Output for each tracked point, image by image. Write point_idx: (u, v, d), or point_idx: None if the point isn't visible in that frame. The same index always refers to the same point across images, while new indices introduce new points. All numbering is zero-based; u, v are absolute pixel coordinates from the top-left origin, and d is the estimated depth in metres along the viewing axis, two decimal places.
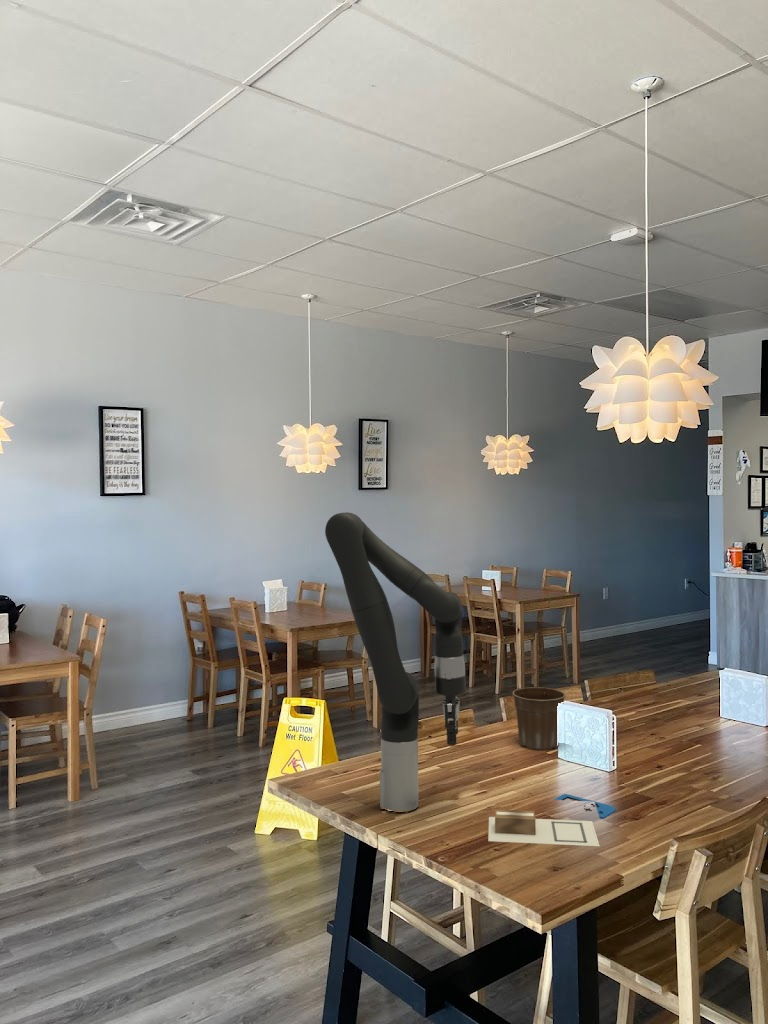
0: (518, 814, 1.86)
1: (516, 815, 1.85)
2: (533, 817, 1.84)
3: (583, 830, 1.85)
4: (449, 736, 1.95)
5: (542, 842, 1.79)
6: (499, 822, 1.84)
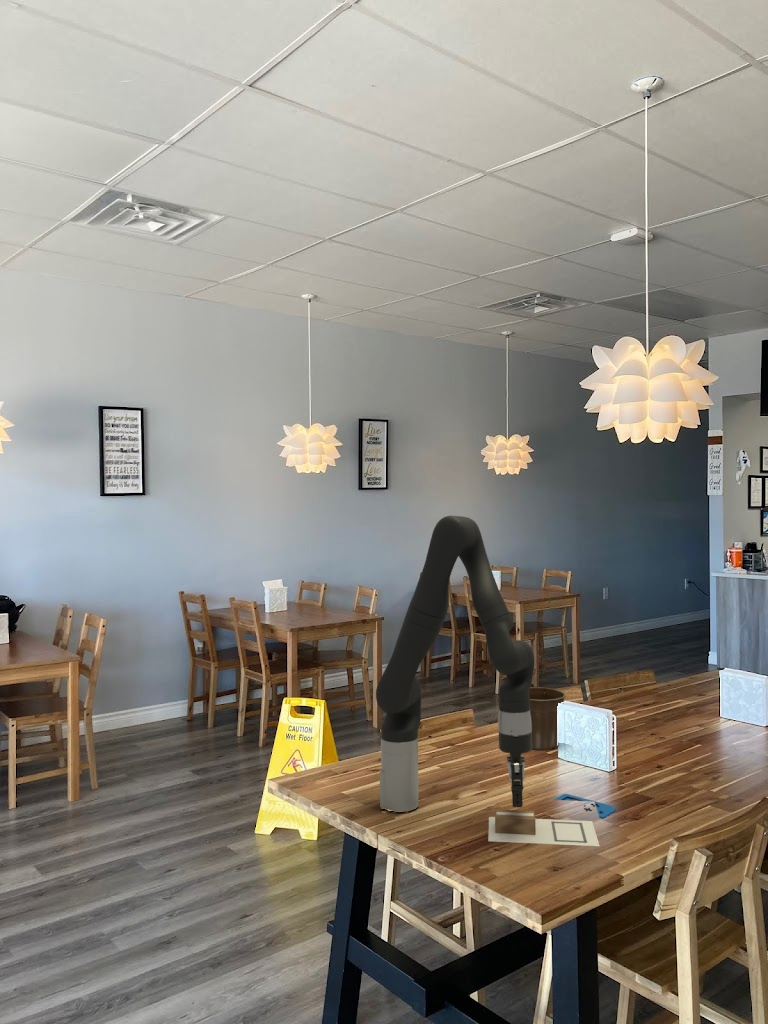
0: (518, 814, 1.86)
1: (516, 815, 1.85)
2: (533, 817, 1.84)
3: (583, 830, 1.85)
4: (515, 798, 1.81)
5: (542, 842, 1.79)
6: (499, 822, 1.84)
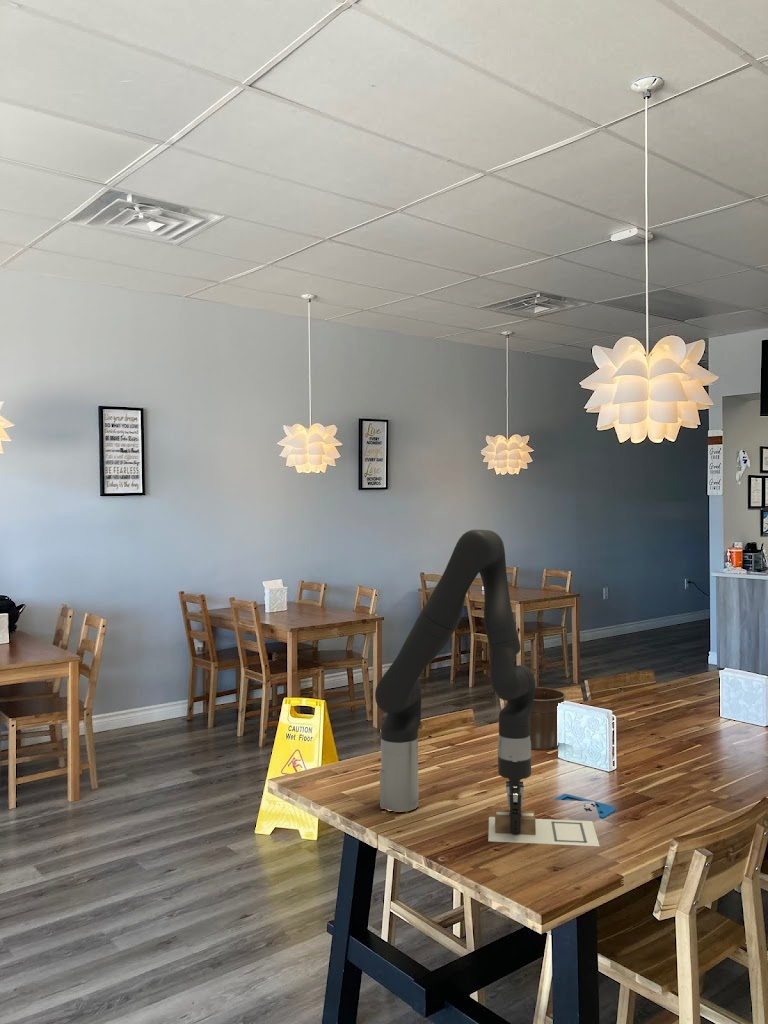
0: None
1: None
2: (533, 817, 1.84)
3: (583, 830, 1.85)
4: (513, 825, 1.83)
5: (542, 842, 1.79)
6: (499, 822, 1.84)
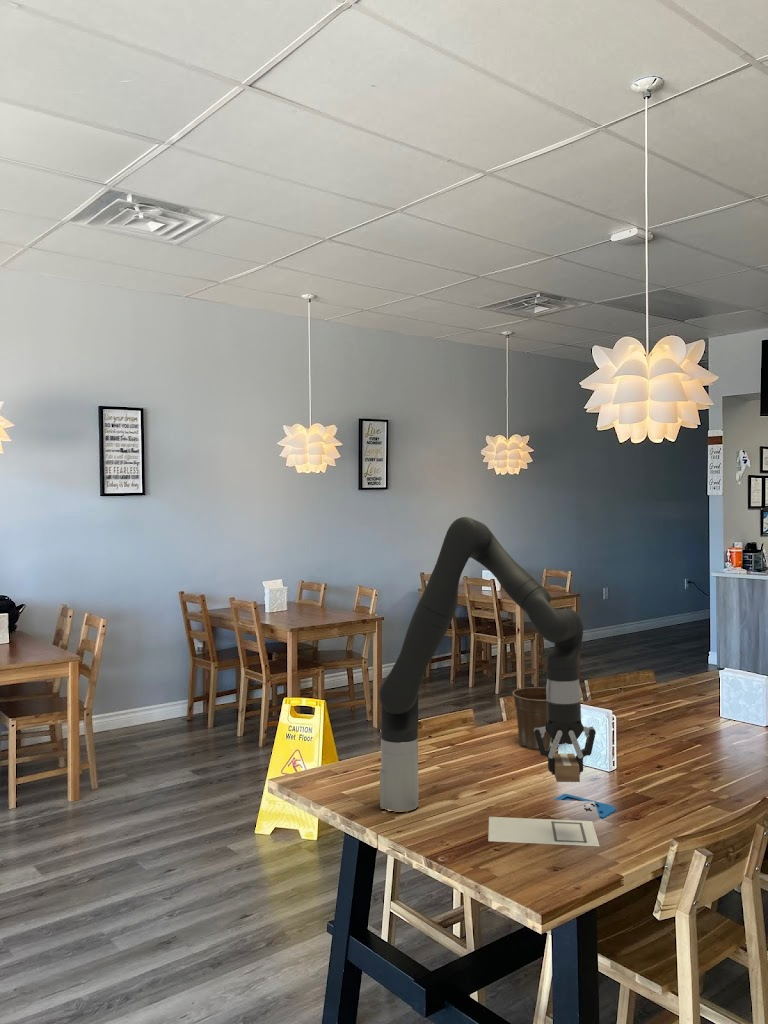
0: (565, 760, 1.83)
1: (561, 759, 1.83)
2: (561, 765, 1.80)
3: (583, 830, 1.85)
4: (548, 763, 1.84)
5: (542, 842, 1.79)
6: None
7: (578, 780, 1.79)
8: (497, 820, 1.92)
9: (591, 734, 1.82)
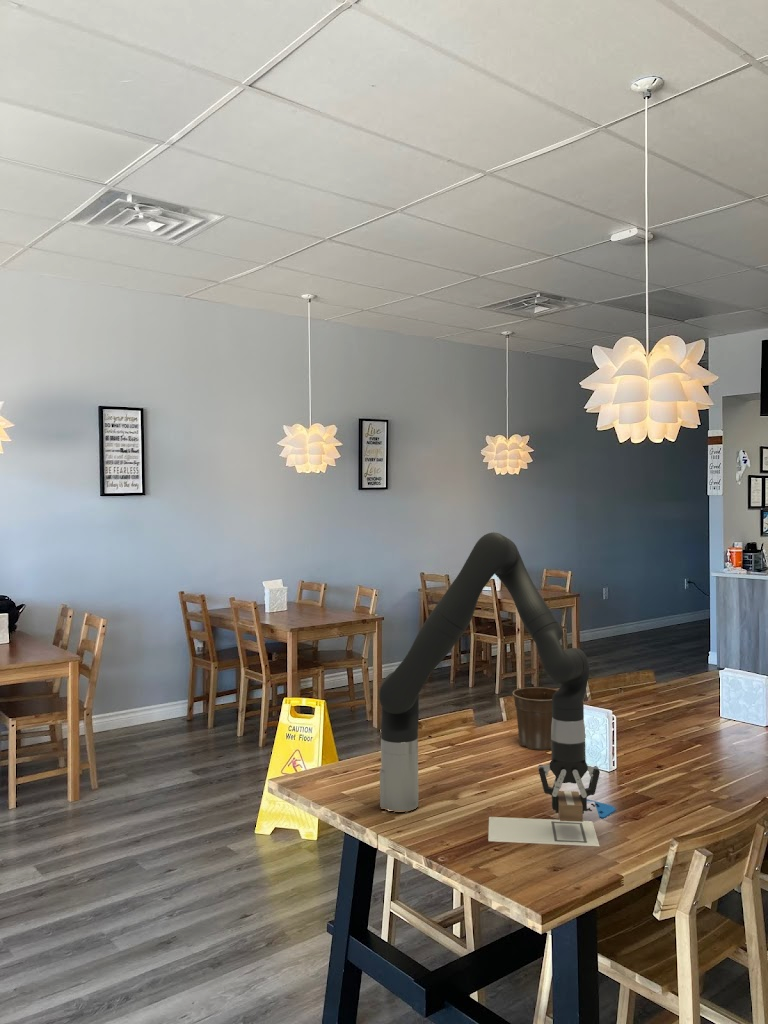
0: (568, 798, 1.84)
1: (565, 798, 1.85)
2: (564, 804, 1.81)
3: (583, 830, 1.85)
4: None
5: (542, 842, 1.79)
6: None
7: (581, 820, 1.80)
8: (497, 820, 1.92)
9: (595, 774, 1.83)
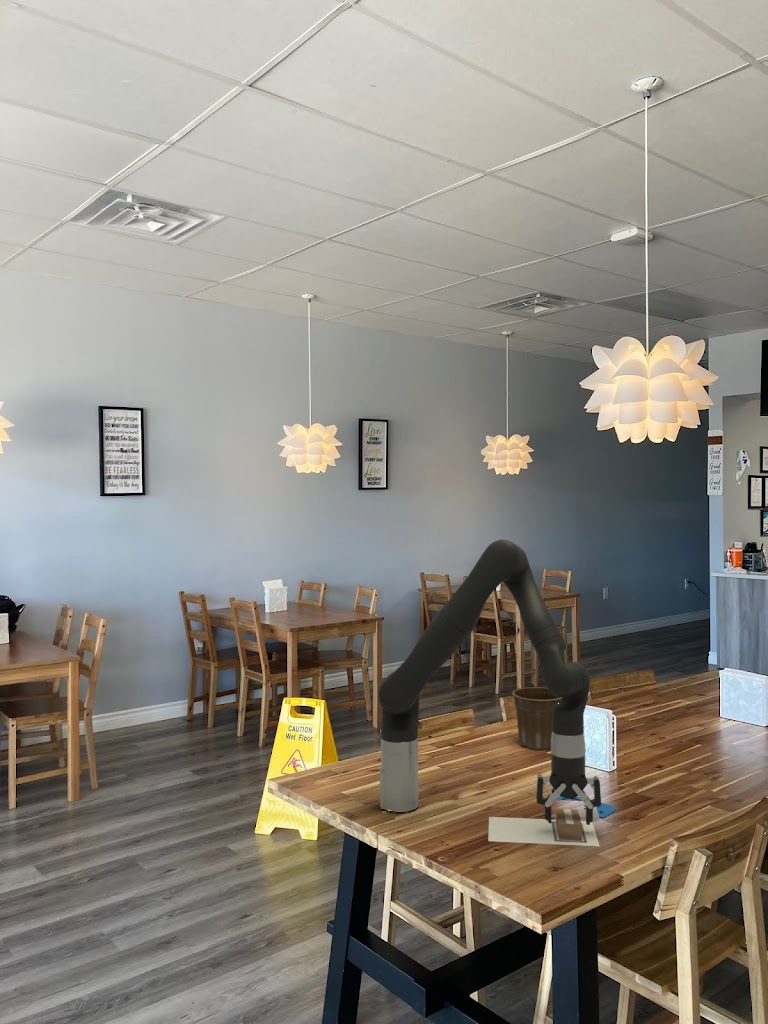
0: (568, 817, 1.84)
1: (565, 816, 1.84)
2: (563, 823, 1.81)
3: (583, 830, 1.85)
4: None
5: (542, 842, 1.79)
6: (556, 814, 1.88)
7: (580, 839, 1.80)
8: (497, 820, 1.92)
9: (596, 785, 1.83)
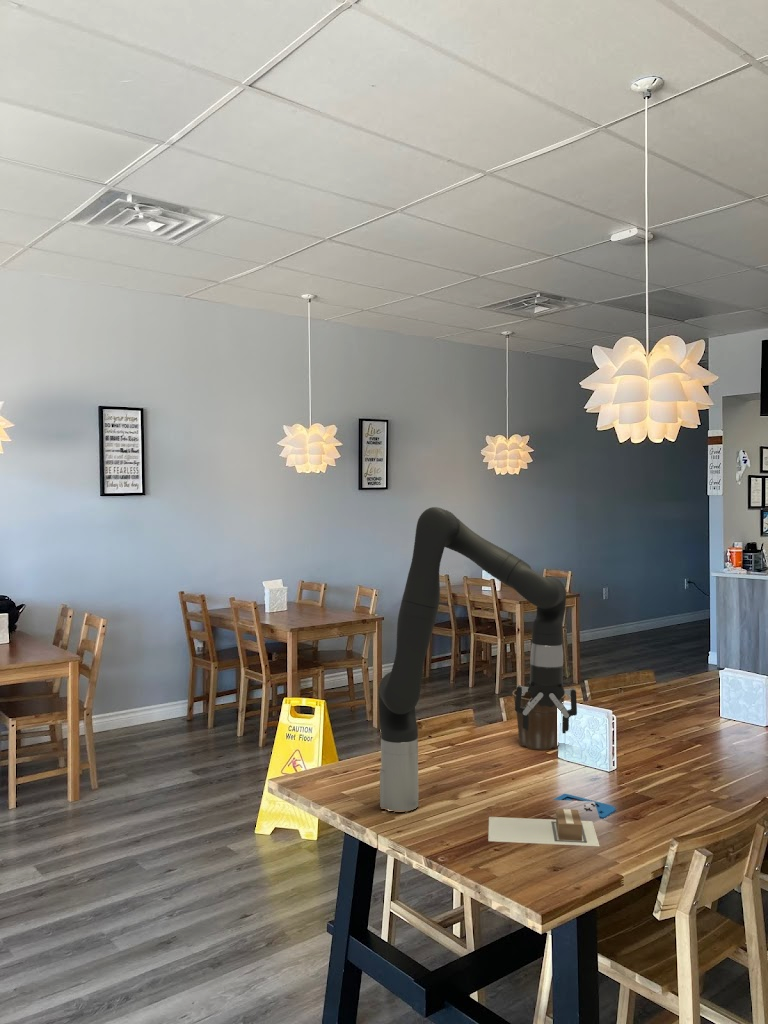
0: (568, 817, 1.84)
1: (565, 816, 1.84)
2: (563, 823, 1.81)
3: (583, 830, 1.85)
4: None
5: (542, 842, 1.79)
6: (556, 814, 1.88)
7: (580, 839, 1.80)
8: (497, 820, 1.92)
9: (572, 694, 1.89)
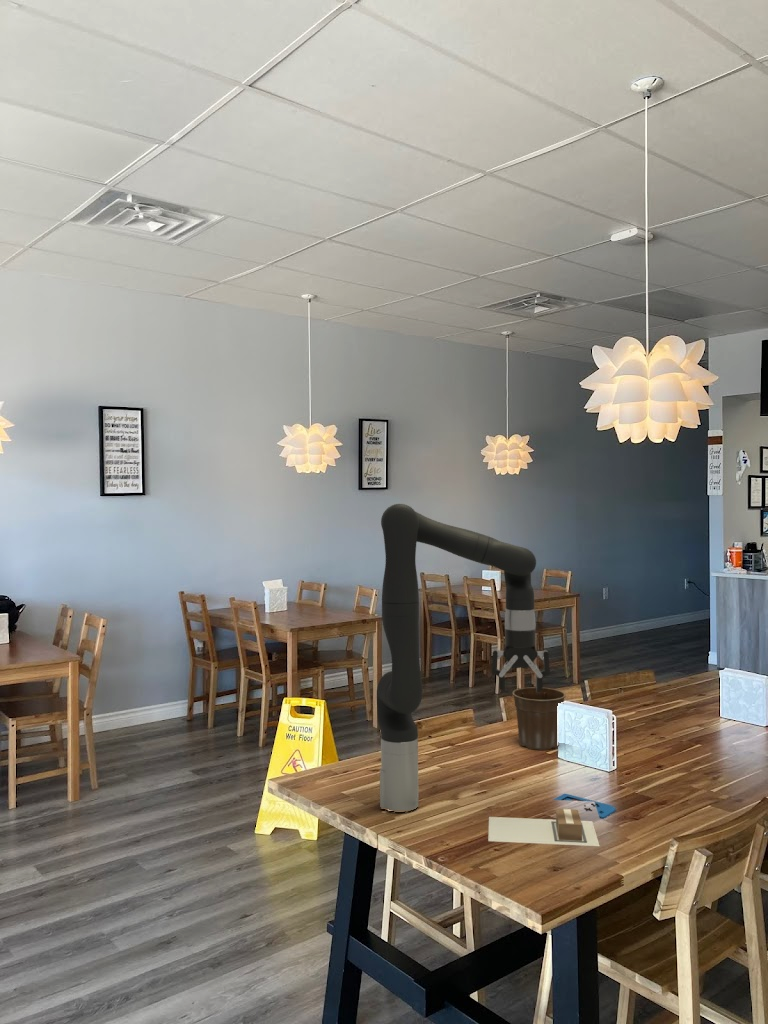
0: (568, 817, 1.84)
1: (565, 816, 1.84)
2: (563, 823, 1.81)
3: (583, 830, 1.85)
4: None
5: (542, 842, 1.79)
6: (556, 814, 1.88)
7: (580, 839, 1.80)
8: (497, 820, 1.92)
9: (545, 656, 2.01)
